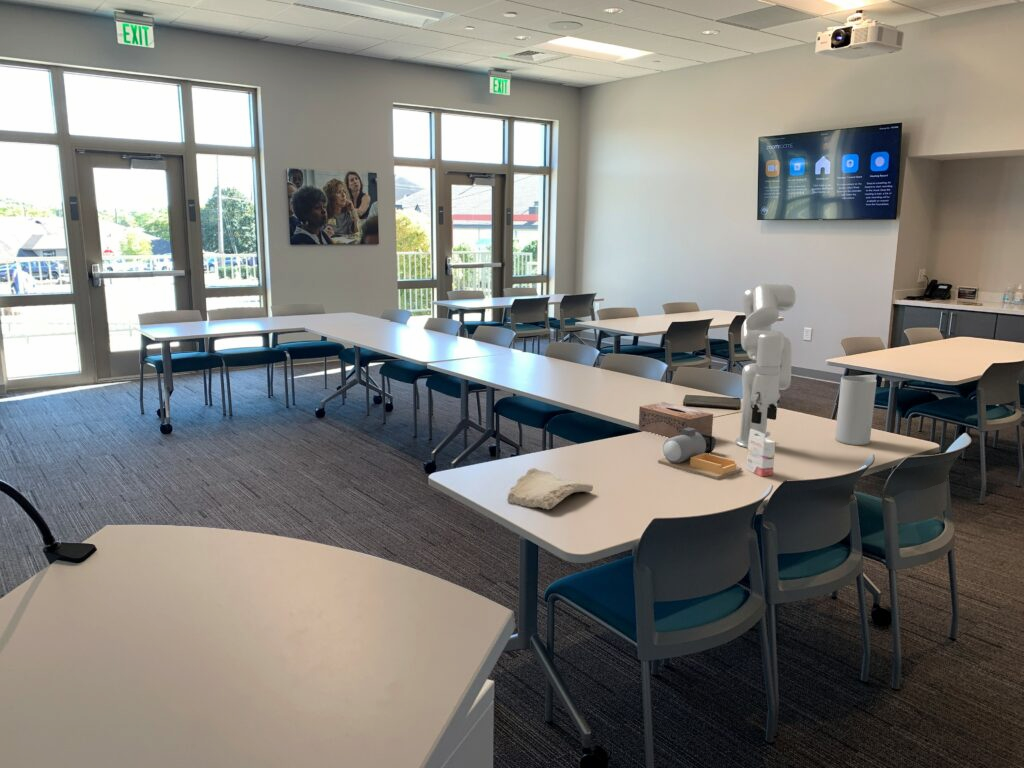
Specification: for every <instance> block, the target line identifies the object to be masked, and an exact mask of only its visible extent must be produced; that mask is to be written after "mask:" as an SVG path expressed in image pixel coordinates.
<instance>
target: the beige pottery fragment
mask: <svg viewBox="0 0 1024 768" xmlns="http://www.w3.org/2000/svg"><path fill="white" fill-rule="evenodd" d="M593 488H594V485H592V484H589V483H586V482H577V481H573V480H568V479H565V478H561V477H559V476H557V475H555V474H553V473H551V472H550V471H548V470H547V471H546V470H541V469H540V470H539V469H538V468H536V467H532V468H530V469H528V470H526V474H525V475H522V476H520V477H519V478H517V481H516V483H515V485H513V486H512V487H510V489H509V492H508V493H507V499H506V501H507V502H508V503H509V504H513V503H516V504H515V505H517V504H520V505H519V506H521V505H522V506H521V507H525V506H527V507H526V508H542V509H543V510H545V509H546V510H551V509H553V508H554V507H555V506H557V504H560V502H562V501H564V499H565V498H567V497H569V496H570V495H571V494H573V493H581V492H583V493H584V492H589V493H590V492H592V491H593Z"/></svg>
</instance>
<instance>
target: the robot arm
mask: <svg viewBox="0 0 1024 768" xmlns="http://www.w3.org/2000/svg"><path fill="white" fill-rule="evenodd" d="M796 295H797V294H796V290H795V288H794V287H793V286H792V285H790V284H779V283H778V284H777V283H776V284H775V283H774V284H773V283H768V284H767V283H766V284H760V285H757V286H756V287H754V288H749V289H746V290H744V292H743V295H742V306H743V312H744V314H745V315H744V316H745V318H744V321H743V323H742V325H741V328H740V329H741V330H740V343H741V348H742V350H743V351H745V352H746V353H747V356H748V358H749V359H750V360H754V361H756V362H755V363H754V362H753V363H748V364H746V365H744V366H743V368H742V371H741V380H742V400H741V401H742V402H741V414H740V415H741V416H740V431H739V437H738V438H736V439H735V441H734V443H735V445H737V446H739V447H742V448H746V449H748V441H749V434H750V429H753V430H756V431H759V432H761V433H764V434H765V438H766V439H767V437H770V436H771V432H770V431H767V425H768V419H769V420H772V421H775V420H777V413H778V408H779V402H780V398H781V393H780V392H779V390H780V391H781V390H782V391H784V390H787V389H789V387H790V386H791V381H792V357H793V356H792V353H793V351H792V342H791V340H790V339H789V338H788V337H786V336H785V335H784V333H783V332H782V331H779V330H772V325H773V324H775V323H776V322H777V321H778V320H779V316H780V312H788V311H790V310H791V309H793V307H795V304H796V298H797V297H796ZM755 436H760V435H758V434H755Z"/></svg>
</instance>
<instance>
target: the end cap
mask: <svg viewBox="0 0 1024 768" xmlns="http://www.w3.org/2000/svg"><path fill="white" fill-rule="evenodd" d="M701 435H702V436H703V437H704V439H705V442H706V450H705V452H704V453H708V454H709V453H710V454H711V453H712V452H713V451H715V450H714V449H715V447H716V443H717V441H716V437H714V436H713V435H712V436H709V435H704V434H701Z"/></svg>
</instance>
